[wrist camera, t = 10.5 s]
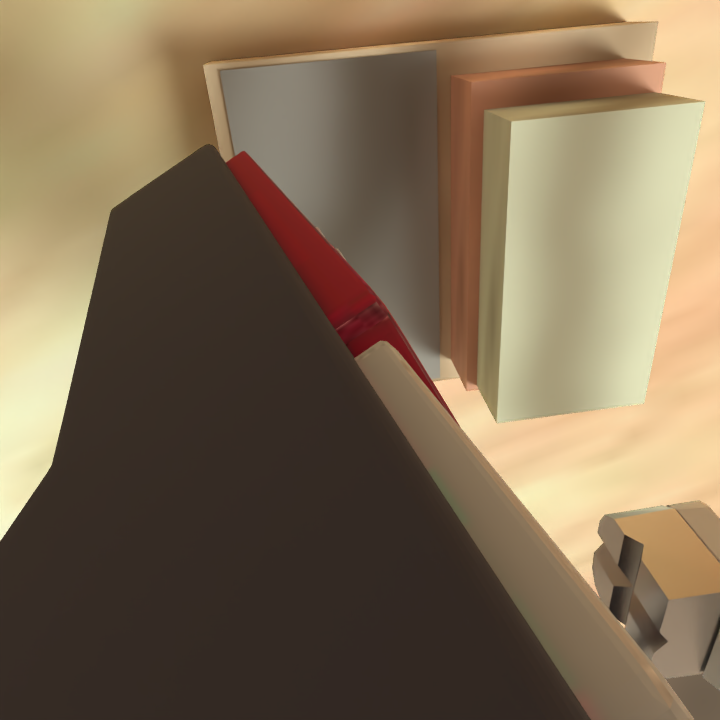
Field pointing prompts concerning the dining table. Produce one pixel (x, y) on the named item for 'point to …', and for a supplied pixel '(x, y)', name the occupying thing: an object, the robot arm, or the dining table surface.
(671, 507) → the robot arm
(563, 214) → the sticky note pad set
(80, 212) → the dining table surface
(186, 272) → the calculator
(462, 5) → the dining table surface
